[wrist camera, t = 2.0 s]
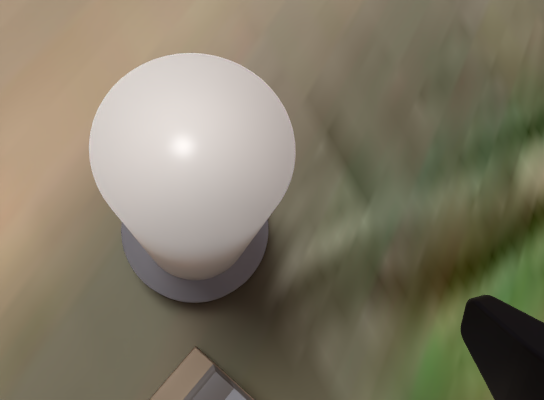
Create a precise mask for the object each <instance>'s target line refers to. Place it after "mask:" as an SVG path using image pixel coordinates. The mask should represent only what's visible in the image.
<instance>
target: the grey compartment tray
mask: <svg viewBox="0 0 544 400" xmlns="http://www.w3.org/2000/svg"><path fill="white" fill-rule="evenodd" d="M149 400H254V399H253V398H252V397H251V396H250V395H249V394H248V393H247V392H246V391H245V390H243V389H242V388H241V387H240V386H239V385H238V384H237V383H236V382H235V381H234V380H232V379H231V378H230V377H229V376H228V375H227V374H226V373H225V372H224V371H223V370H221V369H220V368H219V367H218V366H217V365H216V364H215V363H214V362H213V361H212V360H210V359H209V358H208V357H207V356H206V355H205V354H204V353H203V352H202V351H201V350H199V349H198V348H197V347H196V346H195V347H194V348H193V349H192V351H191V352H190V353H189V354H188V355H187V356H186V357H185V359H184V360H183V361H182V362H181V363H180V364H179V366H178V367H177V368H176V369H175V370H174V371H173V372H172V374H171V375H170V376H169V377H168V378H167V379H166V381H165V382H164V383H163V384H162V385H161V386H160V387H159V389H158V390H157V391H156V392H155V393H154V394H153V396H152V397H151V398H150V399H149Z"/></svg>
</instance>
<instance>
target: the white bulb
mask: <svg viewBox="0 0 544 400" xmlns="http://www.w3.org/2000/svg"><path fill="white" fill-rule="evenodd" d="M89 155H90V164H91V168H92V173H93V176H94V179H95V181H96V184H97V187H98V189H99V190H100V192H101V194H102V196H103V198H104V199H105V201H106V202H107V203H108V205H109V206H110V207H111V209H112V210H113V211H114V213H115V214H116V215H117V216H118V217H119V219H120V220H121V221H122V229H121V233H122V243H123V248H124V252H125V254H126V257H127V260H128V262H129V263H130V265H131V267H132V269H133V270H134V272H135V273H136V274H137V276H138V277H139V278H140V279H141V280H142V281H143V282H144V283H145V284H146V285H148V286H149V287H150V288H151V289H153V290H154V291H156V292H158V293H160V294H161V295H163V296H166V297H168V298H170V299H173V300H177V301H180V302H188V303H201V302H208V301H212V300H216V299H219V298H221V297H223V296H226V295H227V294H229V293H231V292H233V291H234V290H236V289H237V288H238V287H240V286H241V285H242V284H244V283H245V282H246V281H247V280H248V279H249V278H250V277H251V275H252V274H253V273H254V272H255V270H256V269H257V267H258V265H259V264H260V262H261V260H262V258H263V255H264V253H265V249H266V245H267V240H268V218H269V216H270V215H271V214H272V212H273V211H274V210H275V208H276V207H277V205H278V204H279V203H280V201H281V199H282V198H283V196H284V194H285V193H286V190H287V188H288V186H289V183H290V181H291V177H292V174H293V170H294V163H295V139H294V133H293V129H292V125H291V122H290V119H289V117H288V114H287V112H286V110H285V108H284V106H283V104H282V103H281V101H280V100H279V98H278V97H277V95H276V94H275V93H274V92H273V90H272V89H271V88H270V87H269V86H268V85H267V84H266V83H265V82H264V81H263V80H262V79H261V78H259V77H258V76H257V75H256V74H254V73H253V72H252V71H250V70H248V69H247V68H245V67H243V66H242V65H239V64H237V63H235V62H233V61H230V60H228V59H225V58H221V57H218V56H213V55H208V54H199V53H181V54H174V55H168V56H164V57H160V58H157V59H154V60H151V61H149V62H147V63H144V64H142V65H140V66H139V67H137V68H135V69H134V70H132V71H130V72H129V73H128V74H126V75H125V76H124V77H123V78H121V79H120V80H119V81H118V82H117V83H116V84H115V85H114V86H113V87H112V88H111V90H110V91H109V92H108V94H107V95H106V96H105V98H104V99H103V101H102V103H101V105H100V106H99V108H98V110H97V113H96V115H95V118H94V120H93V124H92V128H91V133H90V142H89Z"/></svg>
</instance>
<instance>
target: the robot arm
mask: <svg viewBox="0 0 544 400" xmlns="http://www.w3.org/2000/svg"><path fill="white" fill-rule="evenodd" d="M461 335H462V338H463V340H464V342H465V344H466V346H467V348H468V350H469V352H470V354H471V356H472V357H473V359H474V361H475V363H476V365H477V367H478V369H479V371H480V373H481V375H482V377H483V378H484V380H485V382H486V384H487V386H488V388H489V390H490V392H491V394H492V396H493V398H494V399H495V400H544V323H543V322H541V321H539V320H537V319H535V318H533V317H532V316H530V315H528V314H526V313H524V312H522V311H520V310H518V309H516V308H514V307H512V306H510V305H508V304H506V303H505V302H503V301H501V300H499V299H497V298H495V297H493V296H490V295H483V296H479V297H475V298H471V299H469V300H468V301H467V303H466V306H465V311H464V315H463V319H462V323H461Z"/></svg>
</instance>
